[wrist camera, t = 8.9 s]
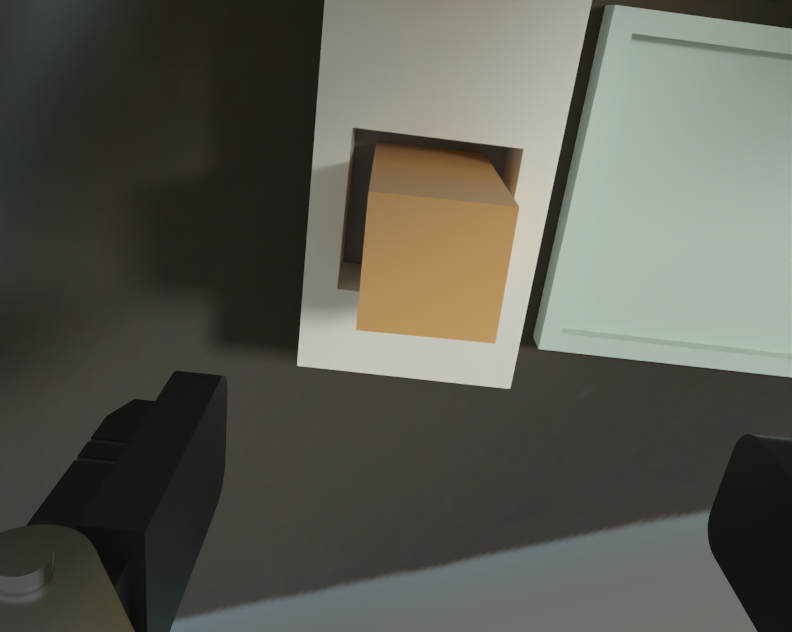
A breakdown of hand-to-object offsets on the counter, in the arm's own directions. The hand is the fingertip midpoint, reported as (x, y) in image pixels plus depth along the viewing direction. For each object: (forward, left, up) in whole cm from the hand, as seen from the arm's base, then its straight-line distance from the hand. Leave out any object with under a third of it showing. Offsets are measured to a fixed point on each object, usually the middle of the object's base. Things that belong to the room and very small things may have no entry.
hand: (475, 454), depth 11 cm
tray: (-12, -1, -18) cm, 21 cm away
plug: (0, 0, -17) cm, 17 cm away
